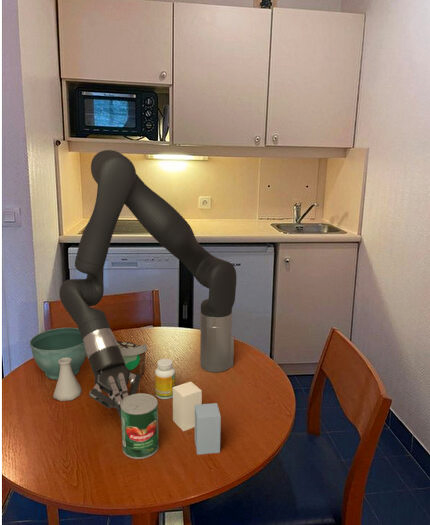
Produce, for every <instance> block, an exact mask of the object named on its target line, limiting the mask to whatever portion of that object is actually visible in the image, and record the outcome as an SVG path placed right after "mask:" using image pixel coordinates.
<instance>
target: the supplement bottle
mask: <svg viewBox="0 0 430 525" xmlns="http://www.w3.org/2000/svg"><path fill="white" fill-rule="evenodd" d="M173 363H174V362H173V360H172V359H171V358H161V359H159V360H158V361H157V362H156V366H157V368H156V369H155V370H154V380H155V381H154V382H155V383H154V384H155V385H154V387H155V389H154V390H155V397H157V398H158V399H160V400H169V399H173V387H175V386H176V370H175V367H173V365H174V364H173Z"/></svg>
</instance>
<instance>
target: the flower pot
mask: <svg viewBox="0 0 430 525" xmlns="http://www.w3.org/2000/svg"><path fill="white" fill-rule="evenodd" d="M29 347H30V348H31V349H30V350H31V354H32V357H33V359H34V361H35V363H36V365H37V367H38V368H39V370H41V371H42V372H44V375H45V376H46V378H48V379H50V380H57V381H58V378H59V373H60V364H59V363H58V361H59V360H60V359H62V358H71V359H72V360H71V368H72V371H73V374H74V376H76V375H77V374H78V373H79V372H80V370H81V367H82V365H83V364H84V362H85V361H86V358H87V354H86V351H85V348H84V343H83V339H82V336H81V334H80V331H79V328H78V327H58V328H52V329H48V330H45V331H42V332H40V333H37V334H35V335H34V336H32V338H31V339H30V340H29Z"/></svg>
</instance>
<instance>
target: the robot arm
mask: <svg viewBox="0 0 430 525" xmlns="http://www.w3.org/2000/svg"><path fill="white" fill-rule="evenodd" d="M90 172H91V175H92V178H93V180H94V181H95V183H96V184H97V191H96V198H95V204H94V207H93V209H92V210H93V211H92V214H91V216H90V218H89V219H88V222H87V224H86V226H85V228H84V230H83V233H82V235H81V237H80V241H79V243H78V248H77V252H76V256H75V259H74V267H75V269H76V270H77V271H79V272H80V273H83V274H85V275H86V277H85V278H72V279H70V278H69V279H66V280H65V281H63V283H62V284H61V286H60V287H59V298H60V302H61V304H62V306H63V307H64V309H65V310H66V311H67V314H69V316H70V317H71V318H72V320H73V321H74V323H75V324H76V325H77V328H78V329H79V331H80V334H81V336H82V339H83V343H84V348H85V351H86V354H87V356H86V358H87V360H88V363H89V365H90V368H91V371H92V374H93V375H94V387H93V388H92V389H91V390H90V391H89V393H88V396H89V398H91V399H92V400H94V401H96V402H98V403H99V404H100V405H102V406H104V407H105V408H106V409H113V408H114V409H116V410H117V411H116V412H117V413H118V416H119V419H120V420H121V406H120V405H121V402H122V400H123V399H124V398H126V397H128V396H130V395H133V394H138V393H137V392H138V389H139V385H140V381H141V378H142V376H141V375H140V374H137V375H135V374H132V373H130V370H129V369H128V368H127V367H126V365H125V362H124V359H123V357H122V354H121V351H120V349H119V346H118V343H117V341H118V340H117V338H116V336H115V335H114V333H113V331H112V329H111V326H110V324H109V322H108V318H107V316H106V314H105V312H104V311H103V310H102V309H98V308H93V306H97V305H98V304H99V303H100V302H101V300H102V299H103V297H104V292H105V290H104V267H105V264H106V260H107V257H108V256H107V255H108V252H109V249H110V245H111V242H112V239H113V235H114V232H115V228H116V226H117V223H118V220H119V218H120V215H121V212H122V211H123V208H124V205H125V206H126V207H127V209H129V211H130V212H131V214H132V215H133V216H134V217H135V218H136V220H137V221H138V222H139V223H140V224H141V225H142V227H143V228H144V229H145V230H146V231H147V232H148V234H150V235H151V237H152V238H154V239H155V240H156V241H157V243H159V244H160V245H161V246H162V247H163V248H164V249H166V251H168V252H169V253H170V254H171V255H172V256H173V257H175V258H176V259H177V260H179V261H180V262H181V263H182V264H183V265H184V266H185V268H186V269H188V271H189V272H190V274H192V276H193V277H194V278H195V280H196V281H197V282H198V283H199V284H200V285H201V286H203V287H205V288H207V289H208V298H206V299H204V300H203V301H201V303H200V346H199V347H200V351H199V352H200V355H199V356H200V357H199V361H200V362H199V363H200V368H201V369H203V370H204V371H206V372H209V373H221V372H225V371H227V370H228V369H230V368H233V367H234V357H235V356H234V350H235V348H234V346H235V344H234V343H235V336H233V335H232V325H233V324H232V323H233V322H232V318H233V307H234V305H235V302H236V291H237V290H236V289H237V271H236V270H237V269H236V268H235V265H234V264H233V263H231V262H229V261H227V260H224V259H222V258H220V257H219V258H218V257H216V256H214V255H212V254H211V253H210V252H208V250H206V249H205V248H204V247H203V246H202V245H201V244H200V243H199V242H198V240H197V239H196V236H195V235H196V234H195V233H194V231H193V228H192V227H191V225H190V224H189V222H188V221H187V220H186V219H185V217H183V216H182V215H181V214H180V213H179V212H178V211H177V209H176V208H174V206H172V205H171V204H170V203H168V201H166V200H165V199H164V198H163V197H162V196H160V195H159V194H158V193H157V192H155V191H153V190H152V188H150V187H149V186H147V184H145V181H143V180H142V179H141V178H140V176H139V175H138V173H137V170H136V167H135V165H134V163H133V162H132V160H130V159H129V158H128V157H127V156H126V155H124V154H122V153H121V152H119V151H117V150H112V149H105V150H101V151H99V152H97V153H96V154H95V155H94V156H93V157H92V158H91V164H90ZM129 379H130V380H129ZM128 383H130V384H131V385H130V388H129V391H128V387H127V386H128ZM102 391H103V392H102ZM104 393H105V394H104ZM107 395H108V396H107Z"/></svg>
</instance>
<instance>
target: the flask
mask: <svg viewBox="0 0 430 525" xmlns="http://www.w3.org/2000/svg"><path fill="white" fill-rule="evenodd" d="M71 360H72V359H71V358H62V359H60V360H59V361H58V363H59V364H60V373H59V378H58V380H57V382H56V386H55V390H54V392H53V396H52V398H53V399H54V400H58V401H61V402H65V401H73V400H74V399H76V398H78V397H79V396H81V394H82V387H81V384H80V383H79V382H78V380H77V378H76V375H74V374H73V371H72V368H71Z"/></svg>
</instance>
